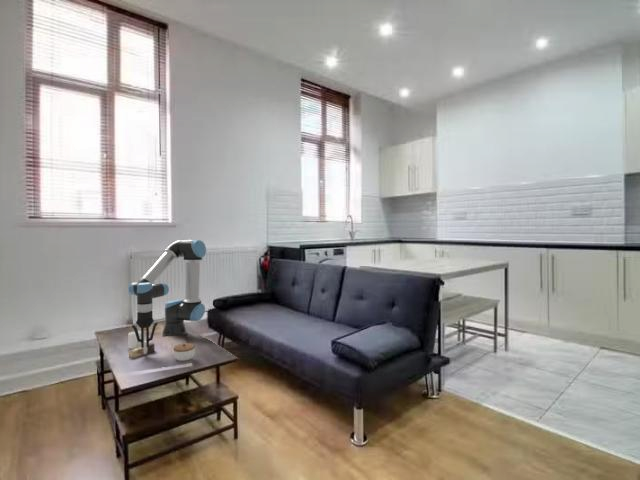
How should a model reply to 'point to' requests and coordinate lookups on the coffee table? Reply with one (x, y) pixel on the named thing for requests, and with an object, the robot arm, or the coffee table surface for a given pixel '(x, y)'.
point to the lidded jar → (184, 351)
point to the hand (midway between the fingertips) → (145, 353)
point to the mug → (133, 340)
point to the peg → (141, 351)
